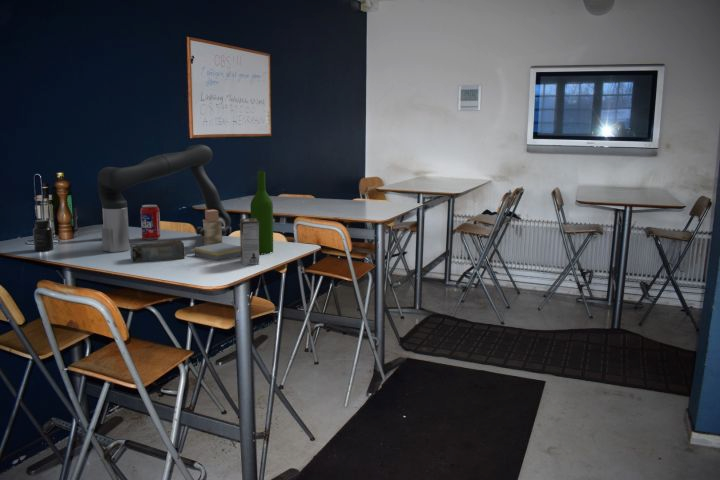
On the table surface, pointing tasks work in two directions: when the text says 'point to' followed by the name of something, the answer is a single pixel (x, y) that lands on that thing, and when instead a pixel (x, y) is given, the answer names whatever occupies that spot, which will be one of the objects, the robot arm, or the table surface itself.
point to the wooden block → (212, 232)
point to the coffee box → (249, 240)
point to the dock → (218, 251)
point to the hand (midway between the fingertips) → (212, 233)
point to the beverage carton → (157, 251)
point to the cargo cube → (211, 215)
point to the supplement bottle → (43, 236)
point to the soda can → (150, 222)
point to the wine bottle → (263, 215)
